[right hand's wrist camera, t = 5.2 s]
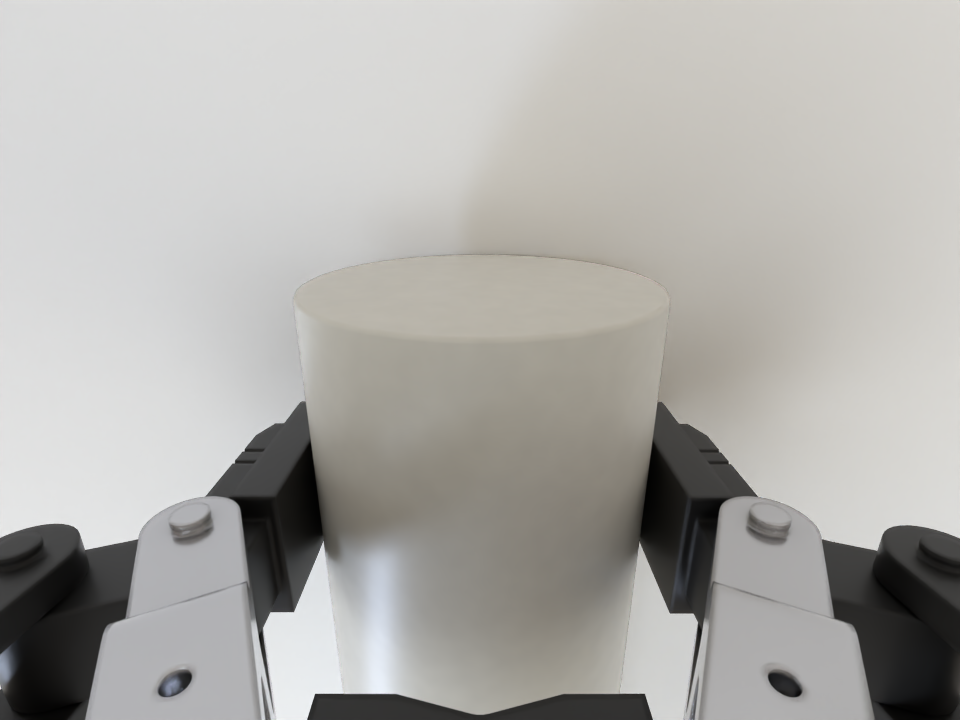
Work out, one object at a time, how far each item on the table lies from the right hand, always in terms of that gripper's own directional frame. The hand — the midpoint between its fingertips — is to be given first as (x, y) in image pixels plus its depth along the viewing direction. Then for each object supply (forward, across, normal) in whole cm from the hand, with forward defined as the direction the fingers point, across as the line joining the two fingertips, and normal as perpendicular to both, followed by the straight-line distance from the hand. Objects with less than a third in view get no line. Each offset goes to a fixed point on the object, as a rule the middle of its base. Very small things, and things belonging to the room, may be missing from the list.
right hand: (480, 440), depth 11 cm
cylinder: (+2, 0, +9) cm, 9 cm away
